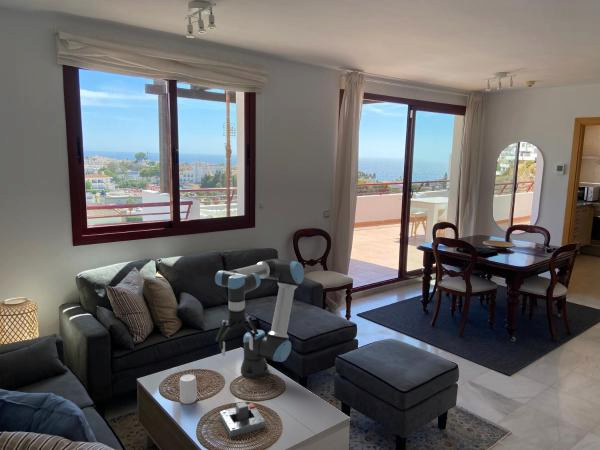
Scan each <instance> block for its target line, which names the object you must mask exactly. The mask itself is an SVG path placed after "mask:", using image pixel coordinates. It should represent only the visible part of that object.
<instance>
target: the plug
mask: <svg viewBox="0 0 600 450" xmlns="http://www.w3.org/2000/svg"><path fill="white" fill-rule="evenodd" d="M235 407H236V421H237V422H239V421H243V420H246V419H249V407H248V405H247V402H246V401H241V402H236V404H235Z"/></svg>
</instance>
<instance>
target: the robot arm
mask: <svg viewBox="0 0 600 450" xmlns="http://www.w3.org/2000/svg"><path fill="white" fill-rule="evenodd" d="M304 278H305V269H304V266H303V265H302V263H301V262H300V261H299V262H298V261H294V260H290V259H289V260H288V259H287V260H286V259H280V258H271V259H266V260H262V261H259V262H257V263H256V264H253V265H249V266H245V267H240V268H237V269H231V270H218V271H217V272H216V273H215V277H214V282H215V284H216V285H218V286H221V287H223V288H225V287H226V288H227V293H228V296H227V297H228V319H227V320H224V319H222V320H221V326H220V327H219V330H218V332H217V335H216V337H215V341H216V343H219V348H220V350H221V354H222V356H223V357H226V342H225V340H226V339H227V338H228V336H229V335H230V333H231V332H232V331H233V330H237V329H241V328H244V329H245V331H247V332H246V333H245V334H244V335H243V362H242V363H241V366H240V373H241V375H242V376H243V377H245V378H248V379H249V378H250V379H257V378H258V379H259V378H262V377H264V376H266V375H268V372H269V367H268V363H267V360H271V361H274V362H281V363H282V362H284V361H286V360H287V359H288V357H289V356H290V354H291V350H292V343H291V341H290V340H289V338H290V337H289V335H288V333H287V332H288V327H289V323H290V316H291V310H292V305H293V300H294V295H295V290H296V289H297V288H298V287H299V285H301V284H302V283H303V281H304ZM262 279H263V280H264V279H270V280H275V281H276V280H277V286H278V292H277V298H276V301H275V302H276V303H275V309H274V313H273V317H272V323H271V330H269V331H268V332H267V334H266V332H265V331H264V330H262V329H257V328H256V326H255V324H254V322H253V318H252V316H250V315H247V316H246V309H245V308H246V299H245V298H246V297H245V296H246V293H247V294H248V293H249V292H251V291H254V290H255V289H257V288H258V287H260V285H261V282H262V281H261V280H262ZM246 321H247V322H248V323H249V325H250V327H251V329H252V330H251V329H250V328H249V327H248V326H247V325H246V324H245V323H246ZM226 326H227V328H226ZM266 359H267V360H266Z"/></svg>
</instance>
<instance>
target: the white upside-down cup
mask: <svg viewBox="0 0 600 450" xmlns="http://www.w3.org/2000/svg"><path fill="white" fill-rule="evenodd" d="M178 386H179V402H180V403H181V404H185V405H189V404H192V403H194V402H196V401H197V400H198V395H197V394H198V390H197V386H198V385H197V377H196V375H194V374H192V373H187V374H184V375H181V376H180V378H179V384H178Z"/></svg>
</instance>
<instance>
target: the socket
mask: <svg viewBox="0 0 600 450" xmlns="http://www.w3.org/2000/svg"><path fill="white" fill-rule="evenodd" d="M246 404H247V403H246ZM247 405H248V407H249V419H246V420H243V421H239V422H237V421H236V406H235V407H232V408H227V409H224V410H220V411H219V418H220V420H221V422H222V424H223V426H224V427H225V430H226V431H227V433H228V434H229V436H230V438H232V437H236V436H239V435H243V434H246V433H249V432H254V431H256V430H260V429H263V428H266V420H265V419H264V417H263V416H262V414H261V413H260V412H259V410H258V408H257V407H256V406H255V404H254V403H253V402H251V403H248V404H247Z"/></svg>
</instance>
